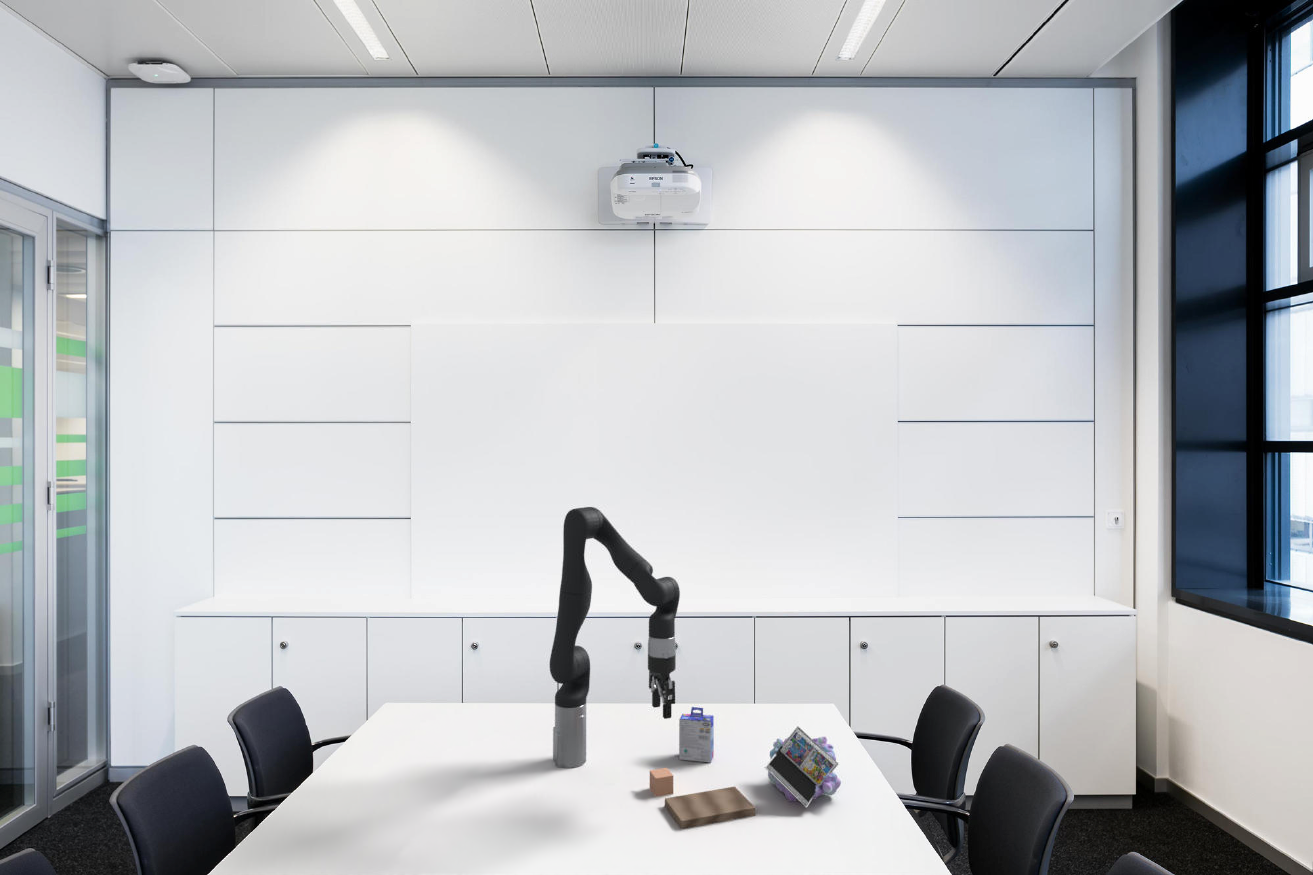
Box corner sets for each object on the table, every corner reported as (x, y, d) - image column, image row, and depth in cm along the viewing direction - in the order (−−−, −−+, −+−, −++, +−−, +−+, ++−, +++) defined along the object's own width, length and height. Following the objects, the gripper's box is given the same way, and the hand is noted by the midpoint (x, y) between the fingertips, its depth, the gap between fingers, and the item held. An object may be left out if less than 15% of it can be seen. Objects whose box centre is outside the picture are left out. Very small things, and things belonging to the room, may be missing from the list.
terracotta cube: (655, 797, 198) (655, 778, 198) (649, 788, 202) (649, 770, 202) (673, 794, 199) (673, 775, 199) (666, 785, 204) (666, 767, 204)
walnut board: (681, 829, 181) (681, 821, 181) (664, 806, 193) (664, 798, 193) (755, 815, 188) (755, 807, 188) (734, 793, 199) (734, 786, 199)
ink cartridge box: (714, 755, 223) (714, 707, 223) (711, 763, 218) (712, 713, 218) (681, 752, 225) (681, 704, 225) (678, 760, 220) (678, 711, 220)
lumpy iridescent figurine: (823, 751, 215) (794, 702, 213) (869, 781, 195) (837, 726, 192) (771, 798, 209) (740, 748, 206) (812, 833, 189) (778, 778, 186)
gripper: (640, 646, 206) (640, 705, 206) (657, 661, 193) (657, 723, 193) (665, 644, 209) (665, 701, 209) (684, 658, 195) (684, 720, 195)
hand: (661, 712), depth 201 cm, fingers open, 8 cm apart
